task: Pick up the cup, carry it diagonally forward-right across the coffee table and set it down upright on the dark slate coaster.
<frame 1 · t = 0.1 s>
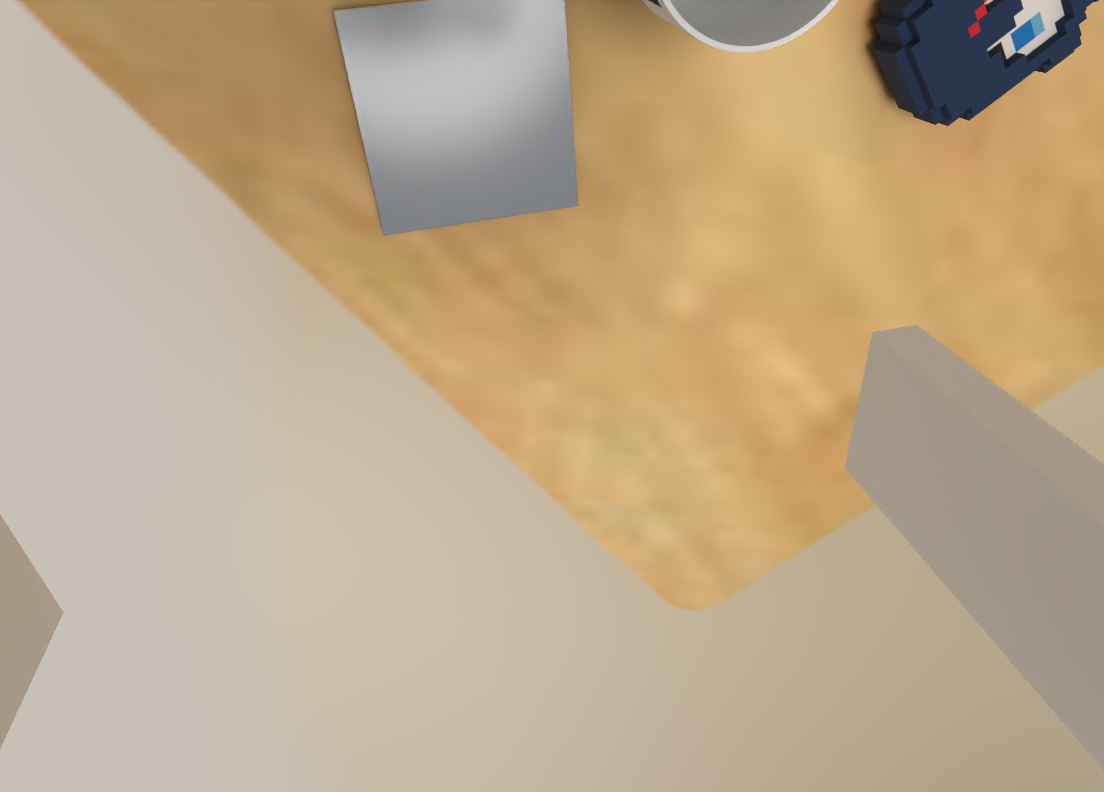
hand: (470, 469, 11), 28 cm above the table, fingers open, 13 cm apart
coaster: (466, 114, 35), on the table
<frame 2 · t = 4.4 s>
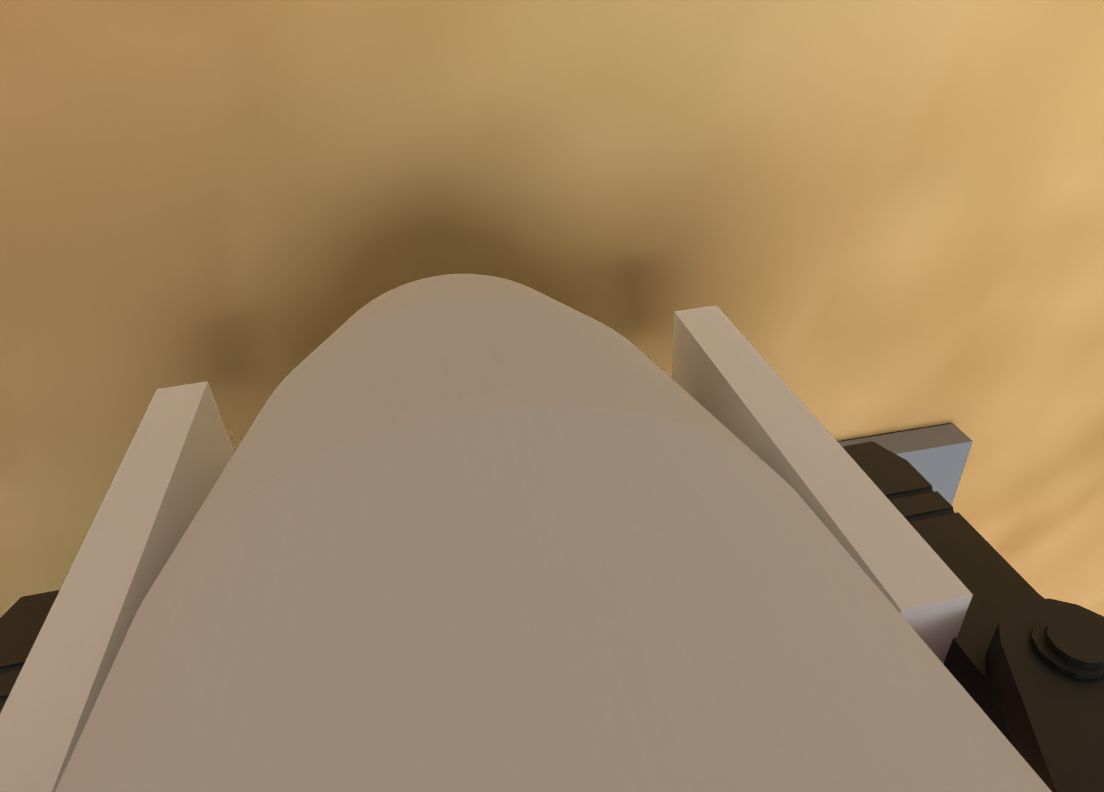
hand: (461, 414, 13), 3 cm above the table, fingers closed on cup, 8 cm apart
cup: (458, 400, 13), point 3 cm above the table, touching gripper
coaster: (754, 585, 21), on the table
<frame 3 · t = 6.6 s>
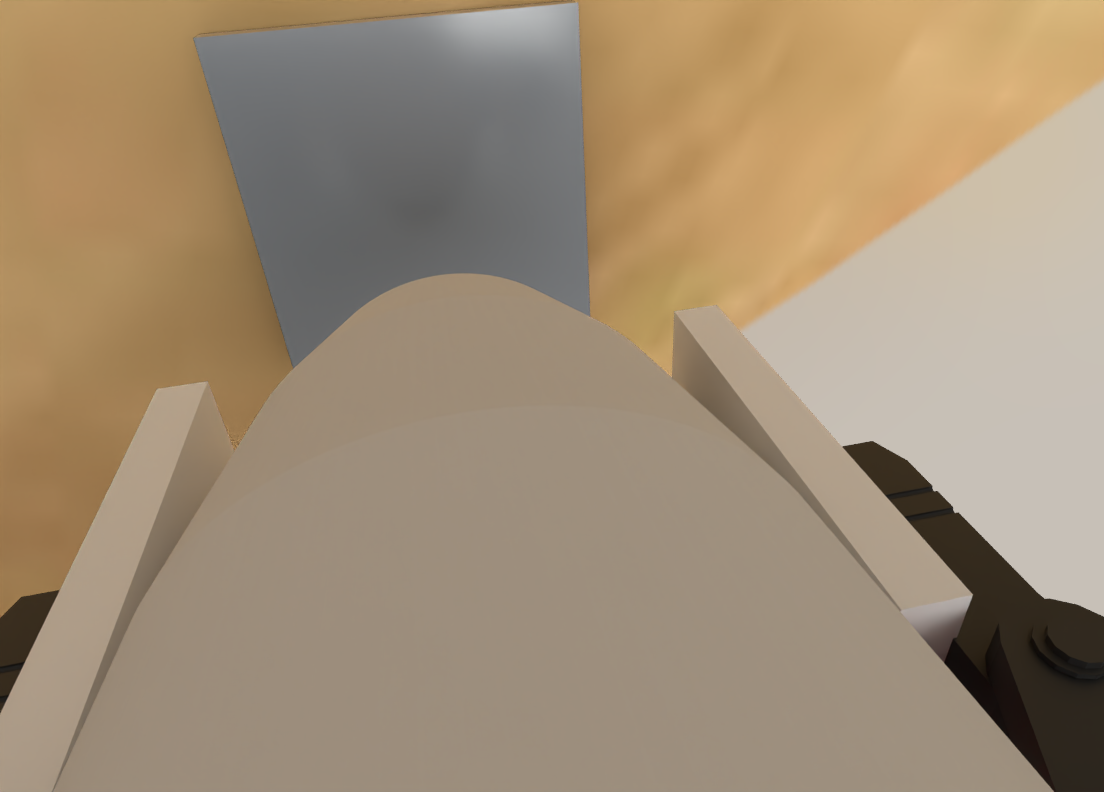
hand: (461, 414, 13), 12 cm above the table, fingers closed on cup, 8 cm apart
cup: (458, 400, 13), point 12 cm above the table, touching gripper
coaster: (421, 197, 23), on the table
when the fingers open (2 cm above the table, at t = 9.1 s): cup stays where it is, resting on coaster.
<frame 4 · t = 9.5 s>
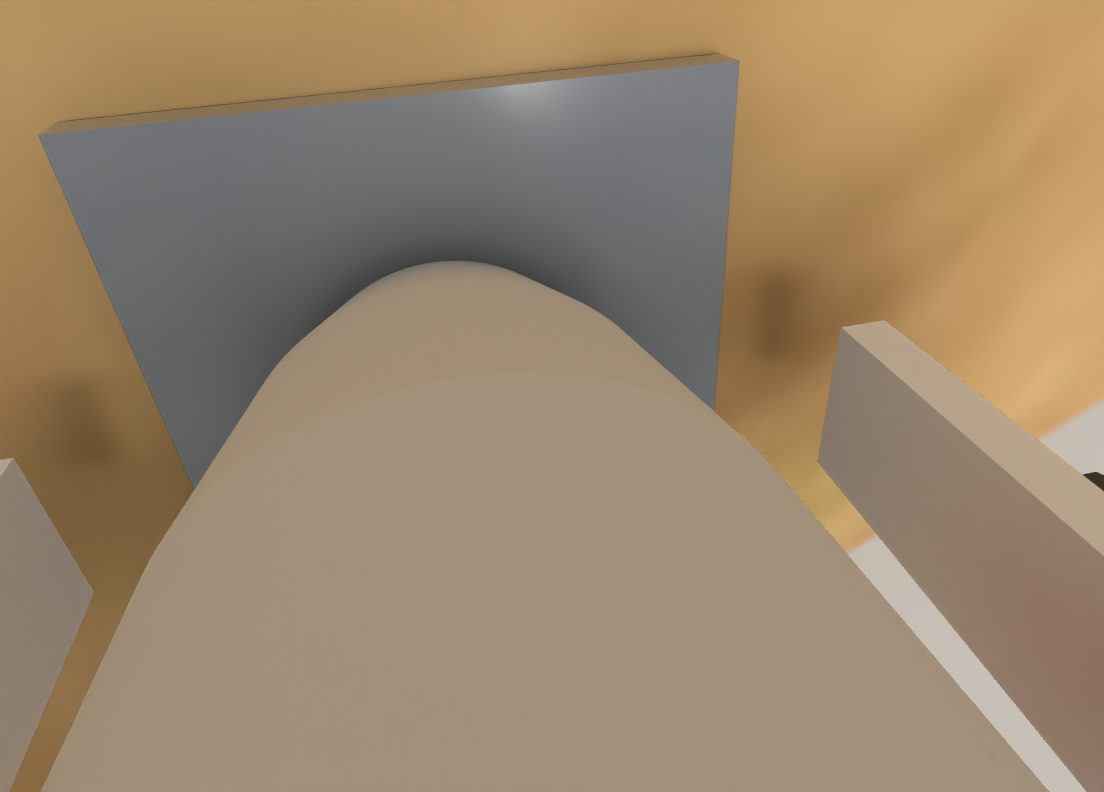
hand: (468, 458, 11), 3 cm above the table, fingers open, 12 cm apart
cup: (451, 384, 13), point 1 cm above the table, touching coaster
coaster: (453, 365, 14), on the table
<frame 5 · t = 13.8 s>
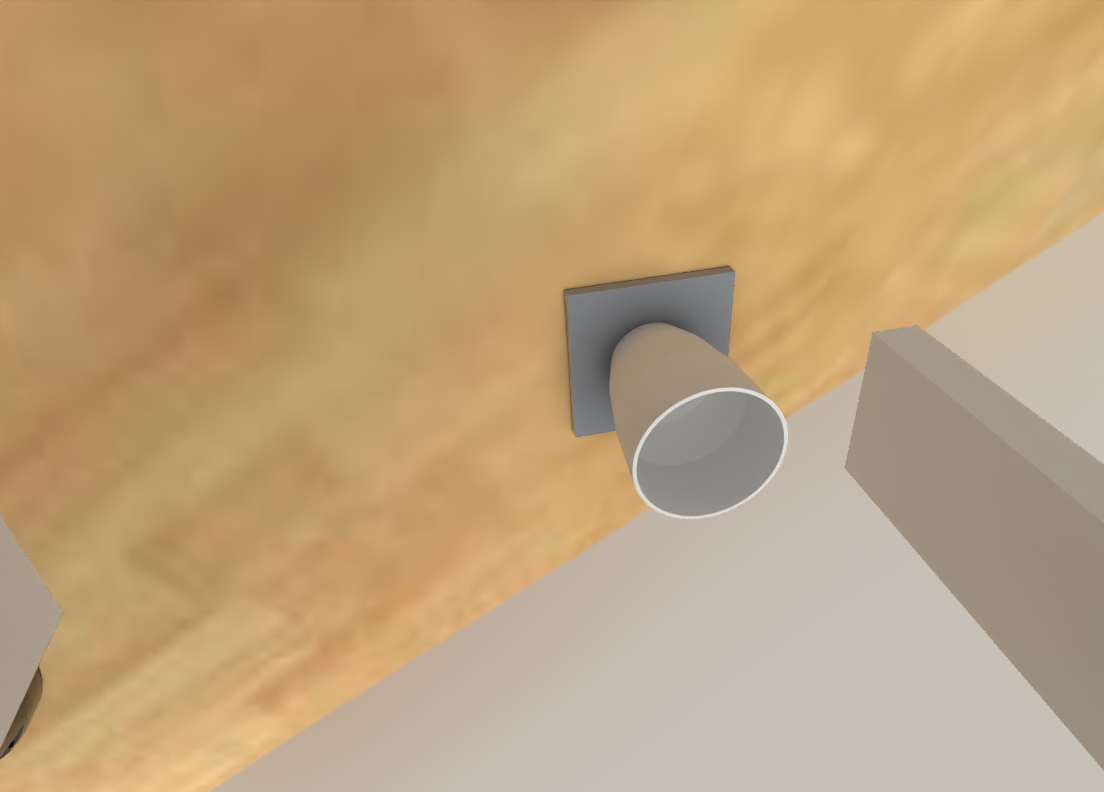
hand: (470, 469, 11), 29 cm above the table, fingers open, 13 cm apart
cup: (649, 357, 45), point 1 cm above the table, touching coaster
coaster: (647, 352, 45), on the table
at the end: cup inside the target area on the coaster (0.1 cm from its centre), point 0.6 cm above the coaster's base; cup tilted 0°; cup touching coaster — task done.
